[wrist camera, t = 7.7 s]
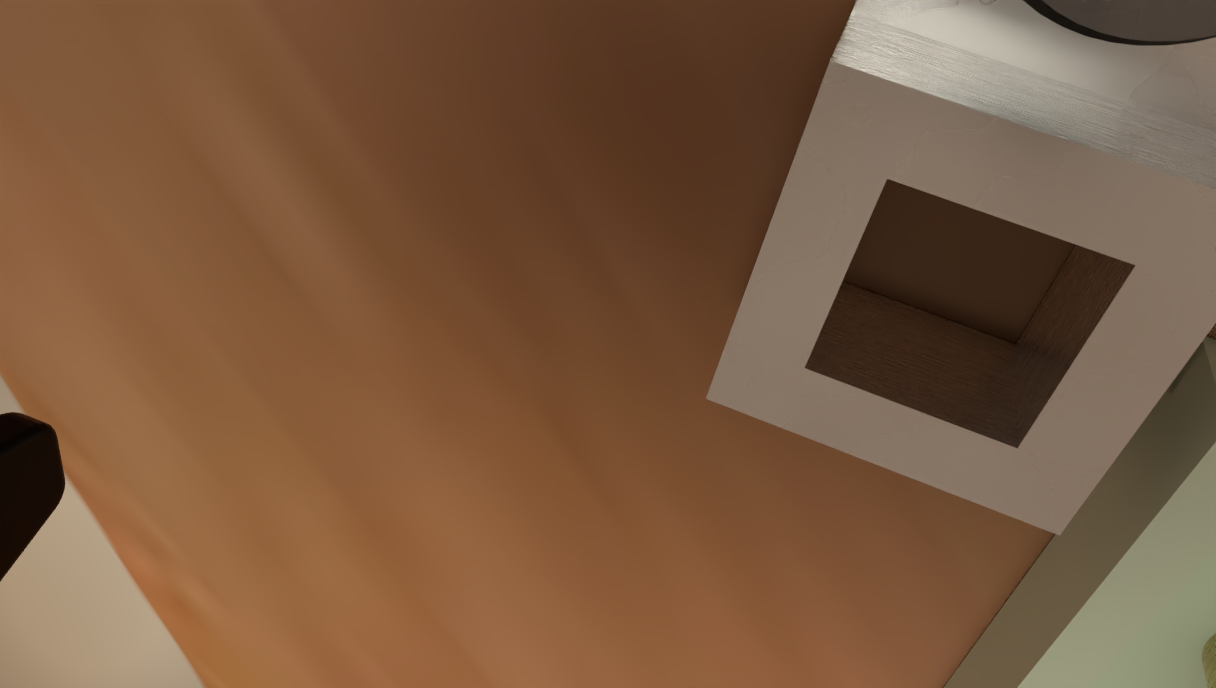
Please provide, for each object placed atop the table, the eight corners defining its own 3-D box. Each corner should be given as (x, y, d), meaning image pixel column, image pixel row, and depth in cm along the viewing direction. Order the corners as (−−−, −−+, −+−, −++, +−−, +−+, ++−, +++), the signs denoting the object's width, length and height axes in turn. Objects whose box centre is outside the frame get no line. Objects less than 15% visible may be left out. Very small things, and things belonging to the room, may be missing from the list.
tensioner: (1633, -454, 12) (1812, -489, 10) (1053, 424, 21) (1059, 535, 19) (1075, -588, 13) (1092, -656, 11) (743, 308, 22) (705, 399, 20)
